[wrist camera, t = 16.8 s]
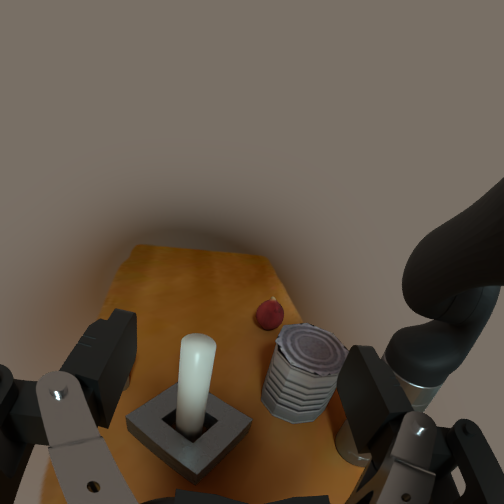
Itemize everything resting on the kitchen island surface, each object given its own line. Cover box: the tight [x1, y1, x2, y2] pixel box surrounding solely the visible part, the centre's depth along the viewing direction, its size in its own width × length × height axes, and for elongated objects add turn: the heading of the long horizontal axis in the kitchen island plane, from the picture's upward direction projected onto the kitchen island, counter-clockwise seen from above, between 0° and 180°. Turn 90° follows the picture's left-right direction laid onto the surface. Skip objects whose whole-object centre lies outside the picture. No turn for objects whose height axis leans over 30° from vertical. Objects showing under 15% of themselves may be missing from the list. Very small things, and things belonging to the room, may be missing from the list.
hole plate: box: [126, 382, 253, 485], centre depth 35 cm, size 12×12×4 cm
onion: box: [256, 297, 284, 330], centre depth 64 cm, size 6×6×8 cm
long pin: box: [176, 333, 216, 443], centre depth 33 cm, size 4×4×17 cm
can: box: [261, 323, 349, 424], centre depth 44 cm, size 11×11×12 cm
